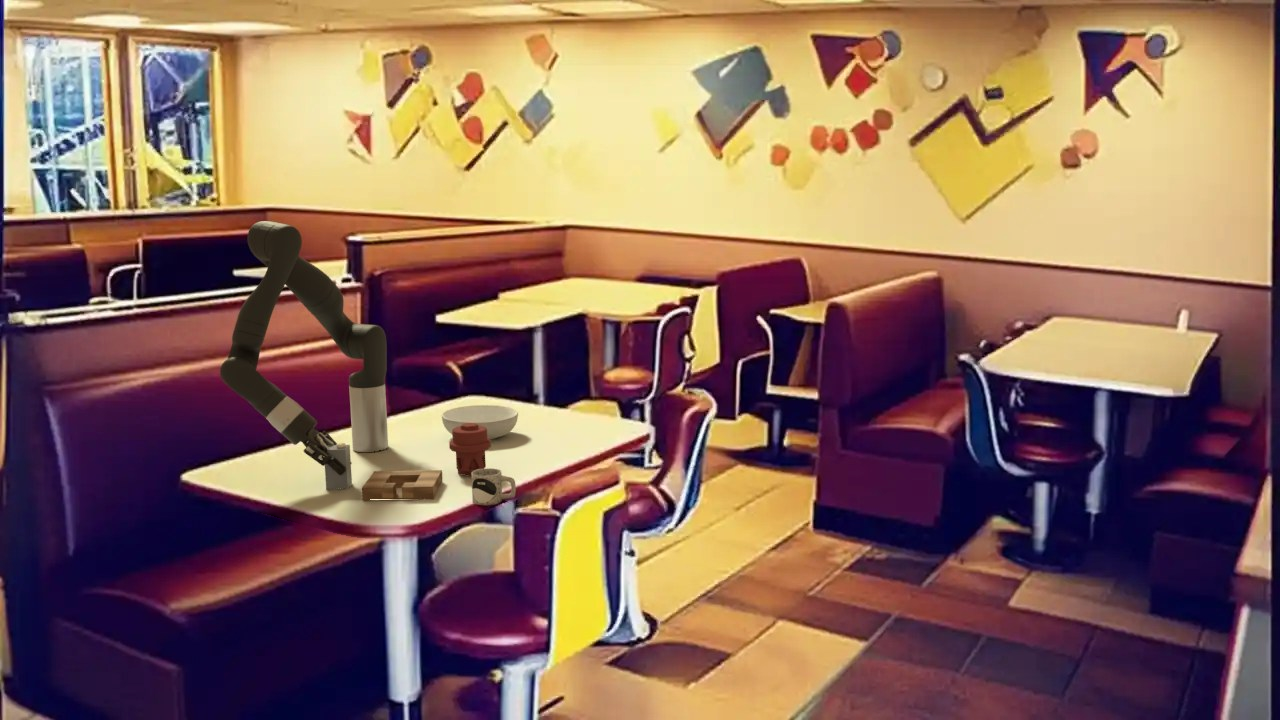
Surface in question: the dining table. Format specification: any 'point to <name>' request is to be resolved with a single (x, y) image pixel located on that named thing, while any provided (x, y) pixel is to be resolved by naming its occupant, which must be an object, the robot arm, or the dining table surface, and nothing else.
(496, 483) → the mug
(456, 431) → the mechanical component
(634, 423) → the dining table surface
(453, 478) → the dining table surface
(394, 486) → the plate
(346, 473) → the block
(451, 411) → the serving bowl
